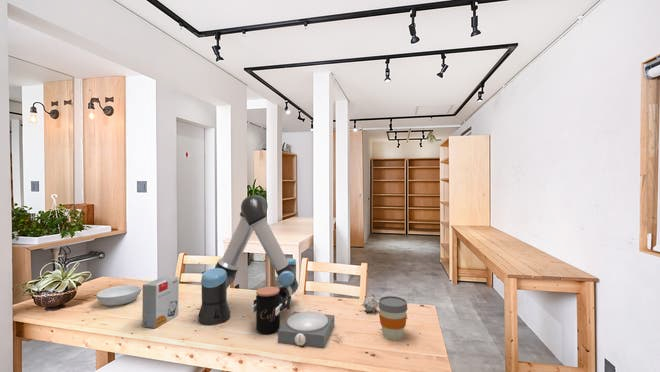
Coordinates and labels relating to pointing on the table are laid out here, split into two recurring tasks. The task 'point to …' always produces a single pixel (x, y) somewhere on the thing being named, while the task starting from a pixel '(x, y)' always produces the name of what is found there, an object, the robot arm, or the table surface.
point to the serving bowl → (118, 294)
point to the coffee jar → (267, 310)
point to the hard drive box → (160, 301)
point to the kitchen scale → (306, 329)
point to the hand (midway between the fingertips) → (264, 311)
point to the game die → (370, 303)
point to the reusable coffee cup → (393, 316)
